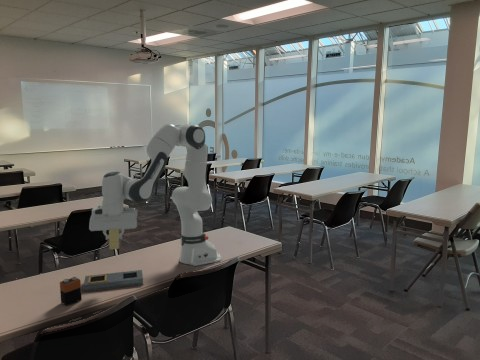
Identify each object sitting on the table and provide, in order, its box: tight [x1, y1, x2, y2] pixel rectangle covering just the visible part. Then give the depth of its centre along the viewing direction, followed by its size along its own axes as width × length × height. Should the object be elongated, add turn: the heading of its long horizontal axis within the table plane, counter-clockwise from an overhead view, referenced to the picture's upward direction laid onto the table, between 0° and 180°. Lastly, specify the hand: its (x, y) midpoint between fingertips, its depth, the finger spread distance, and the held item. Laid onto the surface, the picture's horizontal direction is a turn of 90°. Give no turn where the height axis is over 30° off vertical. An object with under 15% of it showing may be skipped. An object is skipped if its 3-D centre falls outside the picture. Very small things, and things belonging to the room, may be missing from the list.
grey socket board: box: [83, 269, 144, 293], centre depth 170 cm, size 25×10×3 cm, turn 108°
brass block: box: [108, 229, 120, 250], centre depth 166 cm, size 4×4×9 cm
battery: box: [59, 276, 83, 306], centre depth 152 cm, size 4×7×10 cm, turn 141°
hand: (113, 238), depth 167 cm, fingers closed on brass block, 4 cm apart
